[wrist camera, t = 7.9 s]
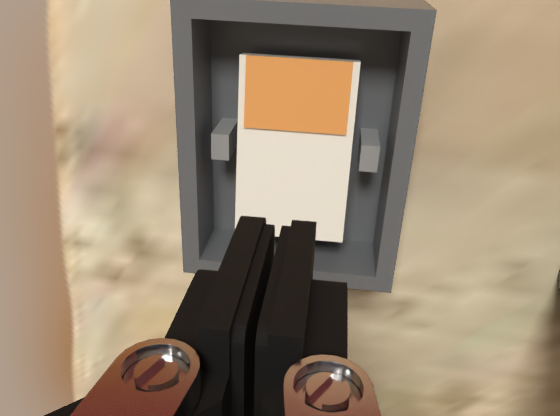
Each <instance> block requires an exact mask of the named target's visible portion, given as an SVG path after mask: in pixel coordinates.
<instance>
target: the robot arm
mask: <svg viewBox="0 0 560 416" xmlns="http://www.w3.org/2000/svg"><path fill="white" fill-rule="evenodd" d="M316 224H317V222H313V221H301V220H292V222H291V226H283V225H282V227H281V231H280V235H279V239H278V243H277V247H276V251H275V255H274V243H275V225H271V224H266V218H264V217H251V216H240V218H239V221H238V223H237V226H236V228H235V231H234V233H233V236H232V238H231V240H230V243H229V245H228V248H227V250H226V253H225V255H224V258H223V260H222V262H221V265H220V267H219V270H218V271H215V270H204V269H199V270H197V272H196V273H195V276H194V278H193V280H192V282H191V284H190V286H189V288H188V290H187V292H186V294H185V297H184V299H183V301H182V303H181V305H180V307H179V309H178V311H177V313H176V315H175V318H174V320H173V322H172V324H171V326H170V328H169V330H168V332H167V334H166V336H165V338H158V339H149V340H146V341H143V342H139V343H136V344H135V345H133V346H131V347H129V348H127V349H125V350H124V351H123V352H122V353H121V354H120V355H119V356H118V357H117V358H116V359H115V360H114V362H113V363H112V364H111V365H110V367H109V368H108V369H107V370H106V372H105V373H104V374H103V375H102V376H101V378H100V379H99V380H98V381H97V383H96V384H95V385H94V386H93V388H92V389H91V390H90V391H89V393H88V394H87V395H86V396H85V397H84V398H82V399H80V400H78V401H75V402H73V403H71V404H69V405H67V406H64V407H62V408H60V409H58V410H56V411H53V412H51V413H49V414H47V415H45V416H381V414H380V410H379V406H378V403H377V399H376V395H375V391H374V387H373V384H372V382H371V380H370V378H369V376H368V374H367V373H366V372H365V371H364V370H363V369H362V368H361V367H360V366H358V365H357V364H355V363H353V362H352V361H350V360H347V282H337V281H326V280H315V279H313V268H314V253H315V239H316Z"/></svg>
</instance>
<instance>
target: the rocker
mask: <svg viewBox="0 0 560 416" xmlns="http://www.w3.org/2000/svg"><path fill="white" fill-rule="evenodd" d="M360 64H361V62H360V60H351V59H335V58H320V57H304V56H288V55H272V54H256V53H242V54H240V55H239V89H238V127H237V164H236V202H235V228H236V226H237V223H238V221H239V218H240V216H251V217H264V218H266V224H271V225H275V236H276V237H279V235H280V231H281V227H282V225H283V226H291V222H292V220H301V221H313V222H317V224H316V239H315V240H320V241H331V242H341V243H342V242H343V232H344V222H345V212H346V202H347V192H348V182H349V173H350V163H351V153H352V143H353V133H354V123H355V113H356V103H357V94H358V84H359V74H360Z"/></svg>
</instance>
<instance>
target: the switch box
mask: <svg viewBox="0 0 560 416" xmlns="http://www.w3.org/2000/svg"><path fill="white" fill-rule="evenodd" d="M170 6H171V26H172V47H173V67H174V87H175V108H176V128H177V149H178V169H179V190H180V210H181V230H182V251H183V271H184V272H187V273H196V272H197V270H199V269H204V270H215V271H218V270H219V267H220V265H221V262H222V260H223V258H224V255H225V253H226V250H227V248H228V245H229V243H230V240H231V238H232V236H233V233H234V231H235V202H236V164H237V127H238V89H239V55H240V54H242V53H256V54H272V55H288V56H304V57H320V58H335V59H351V60H360V62H361V64H360V74H359V84H358V94H357V103H356V113H355V123H354V133H353V143H352V153H351V163H350V173H349V182H348V192H347V202H346V212H345V222H344V232H343V242H342V243H341V242H331V241H320V240H315V253H314V268H313V279H315V280H326V281H337V282H347V288H348V289H359V290H369V291H379V292H389V293H391V289H392V282H393V276H394V270H395V264H396V258H397V251H398V245H399V239H400V233H401V227H402V221H403V214H404V208H405V202H406V196H407V190H408V183H409V177H410V171H411V165H412V159H413V153H414V146H415V140H416V134H417V128H418V122H419V116H420V109H421V103H422V97H423V91H424V85H425V78H426V72H427V66H428V60H429V54H430V48H431V41H432V35H433V29H434V23H435V17H436V9H435V8H433V7H432V6H431V5H430V4H428V3H427V2H426V1H425V0H170ZM278 239H279V237H276V236H275V243H274V255H275V251H276V247H277V243H278Z"/></svg>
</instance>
